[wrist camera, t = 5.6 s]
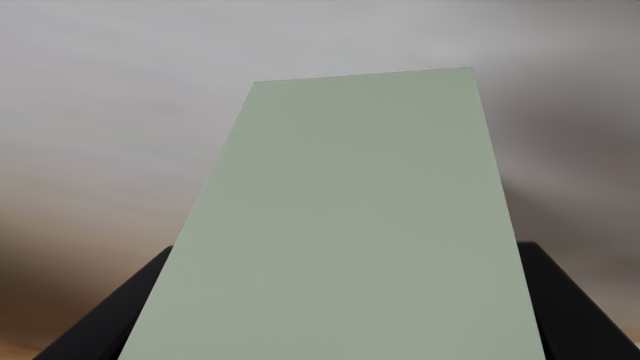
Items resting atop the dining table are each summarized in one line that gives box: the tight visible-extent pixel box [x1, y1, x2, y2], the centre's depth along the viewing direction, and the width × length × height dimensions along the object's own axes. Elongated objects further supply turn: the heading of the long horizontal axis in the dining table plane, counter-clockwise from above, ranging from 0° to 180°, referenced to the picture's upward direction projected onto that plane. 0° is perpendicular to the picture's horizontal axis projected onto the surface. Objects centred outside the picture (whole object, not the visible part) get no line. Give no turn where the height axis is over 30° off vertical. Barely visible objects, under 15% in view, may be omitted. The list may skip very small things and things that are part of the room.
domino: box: [118, 67, 546, 360], centre depth 9 cm, size 2×5×10 cm, turn 97°
